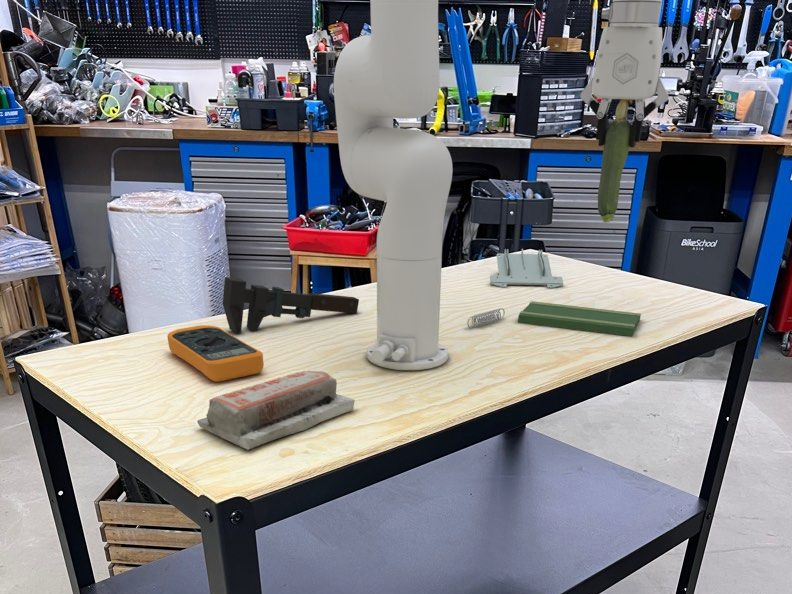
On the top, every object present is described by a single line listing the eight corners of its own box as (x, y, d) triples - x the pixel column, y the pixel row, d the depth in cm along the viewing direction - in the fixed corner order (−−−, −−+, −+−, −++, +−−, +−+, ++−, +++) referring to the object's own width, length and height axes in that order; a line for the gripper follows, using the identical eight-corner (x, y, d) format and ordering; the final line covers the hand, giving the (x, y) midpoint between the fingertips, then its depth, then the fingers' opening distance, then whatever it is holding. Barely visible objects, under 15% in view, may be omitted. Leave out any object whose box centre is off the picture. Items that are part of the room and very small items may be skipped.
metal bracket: (487, 243, 171) (557, 244, 170) (485, 268, 175) (553, 269, 175) (491, 278, 161) (565, 279, 161) (489, 303, 165) (560, 305, 165)
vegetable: (588, 220, 141) (605, 92, 131) (608, 219, 143) (626, 92, 133) (604, 224, 138) (622, 93, 128) (624, 223, 140) (643, 93, 129)
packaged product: (244, 414, 91) (192, 392, 96) (248, 453, 93) (197, 429, 99) (355, 375, 102) (303, 358, 108) (356, 410, 105) (305, 391, 110)
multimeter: (215, 342, 129) (213, 321, 127) (267, 374, 116) (265, 351, 114) (165, 351, 124) (161, 330, 122) (212, 385, 112) (210, 362, 110)
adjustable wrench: (353, 339, 146) (226, 332, 131) (346, 335, 148) (220, 328, 133) (361, 293, 142) (231, 280, 128) (353, 290, 144) (225, 277, 130)
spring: (471, 330, 137) (472, 318, 136) (462, 327, 138) (463, 316, 137) (508, 319, 142) (509, 308, 141) (499, 317, 144) (500, 306, 143)
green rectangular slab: (632, 336, 135) (633, 327, 134) (517, 322, 141) (518, 314, 140) (639, 321, 143) (641, 312, 142) (531, 308, 149) (531, 300, 148)
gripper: (576, 15, 124) (562, 145, 134) (688, 16, 119) (665, 150, 129) (585, 17, 130) (571, 141, 140) (692, 18, 125) (670, 146, 135)
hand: (617, 144), depth 134 cm, fingers closed on vegetable, 4 cm apart
